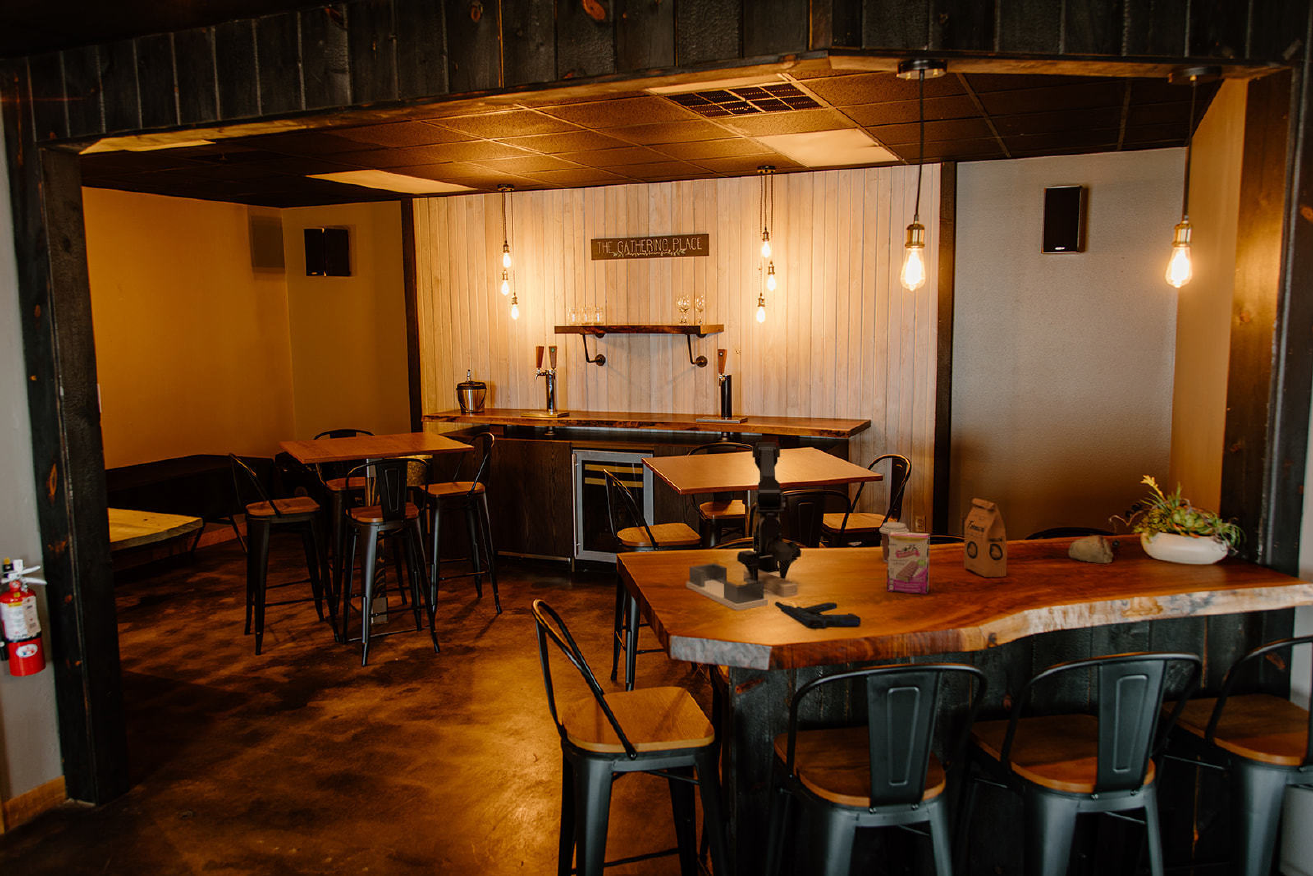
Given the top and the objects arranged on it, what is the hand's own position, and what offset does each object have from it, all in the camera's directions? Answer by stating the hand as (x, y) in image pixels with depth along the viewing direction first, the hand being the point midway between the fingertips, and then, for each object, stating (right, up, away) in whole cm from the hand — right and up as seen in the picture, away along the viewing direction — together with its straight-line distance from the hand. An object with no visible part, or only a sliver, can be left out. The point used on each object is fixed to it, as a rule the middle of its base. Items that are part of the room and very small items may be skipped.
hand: (769, 583), depth 252 cm
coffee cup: (+43, +2, +27) cm, 51 cm away
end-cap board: (-13, -2, -7) cm, 15 cm away
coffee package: (+66, +1, +11) cm, 67 cm away
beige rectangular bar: (0, -2, 0) cm, 2 cm away
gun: (+9, -5, -26) cm, 28 cm away
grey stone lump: (+105, +3, +26) cm, 109 cm away
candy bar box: (+38, -1, -6) cm, 39 cm away
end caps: (-13, -1, -7) cm, 15 cm away
